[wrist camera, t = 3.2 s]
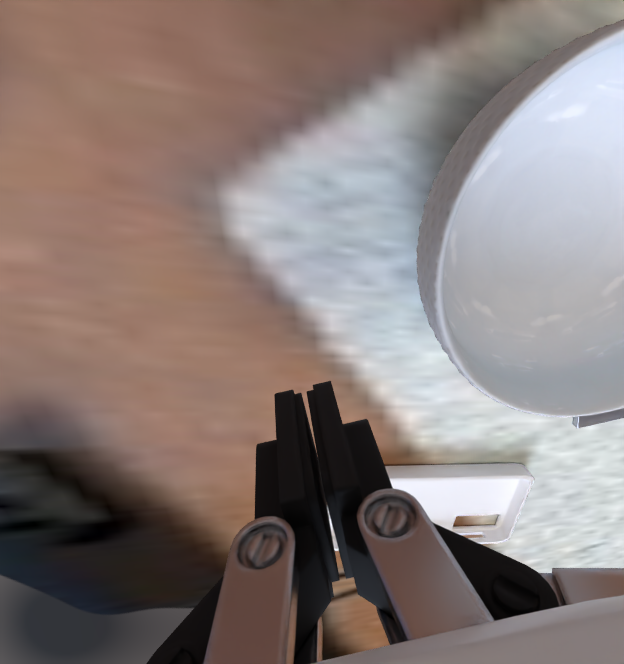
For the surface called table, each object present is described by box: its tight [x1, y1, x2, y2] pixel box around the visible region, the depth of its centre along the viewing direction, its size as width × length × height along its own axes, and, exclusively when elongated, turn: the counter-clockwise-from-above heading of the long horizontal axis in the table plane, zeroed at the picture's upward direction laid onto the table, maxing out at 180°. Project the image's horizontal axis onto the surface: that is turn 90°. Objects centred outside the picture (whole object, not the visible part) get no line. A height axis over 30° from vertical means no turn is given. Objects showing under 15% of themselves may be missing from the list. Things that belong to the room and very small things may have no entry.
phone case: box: [327, 463, 535, 551], centre depth 31 cm, size 7×1×15 cm
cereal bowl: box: [416, 19, 624, 417], centre depth 20 cm, size 17×17×7 cm
